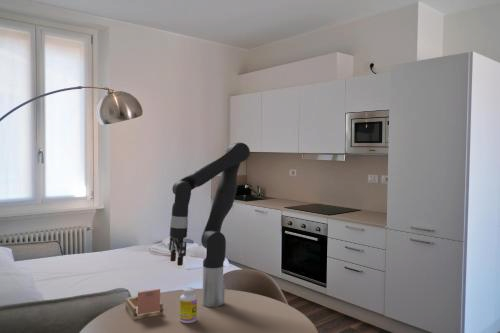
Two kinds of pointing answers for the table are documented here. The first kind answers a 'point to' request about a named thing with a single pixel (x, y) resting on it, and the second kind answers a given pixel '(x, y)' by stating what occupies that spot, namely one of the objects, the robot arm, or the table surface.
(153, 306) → the panel
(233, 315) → the table surface
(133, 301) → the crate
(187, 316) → the supplement bottle
